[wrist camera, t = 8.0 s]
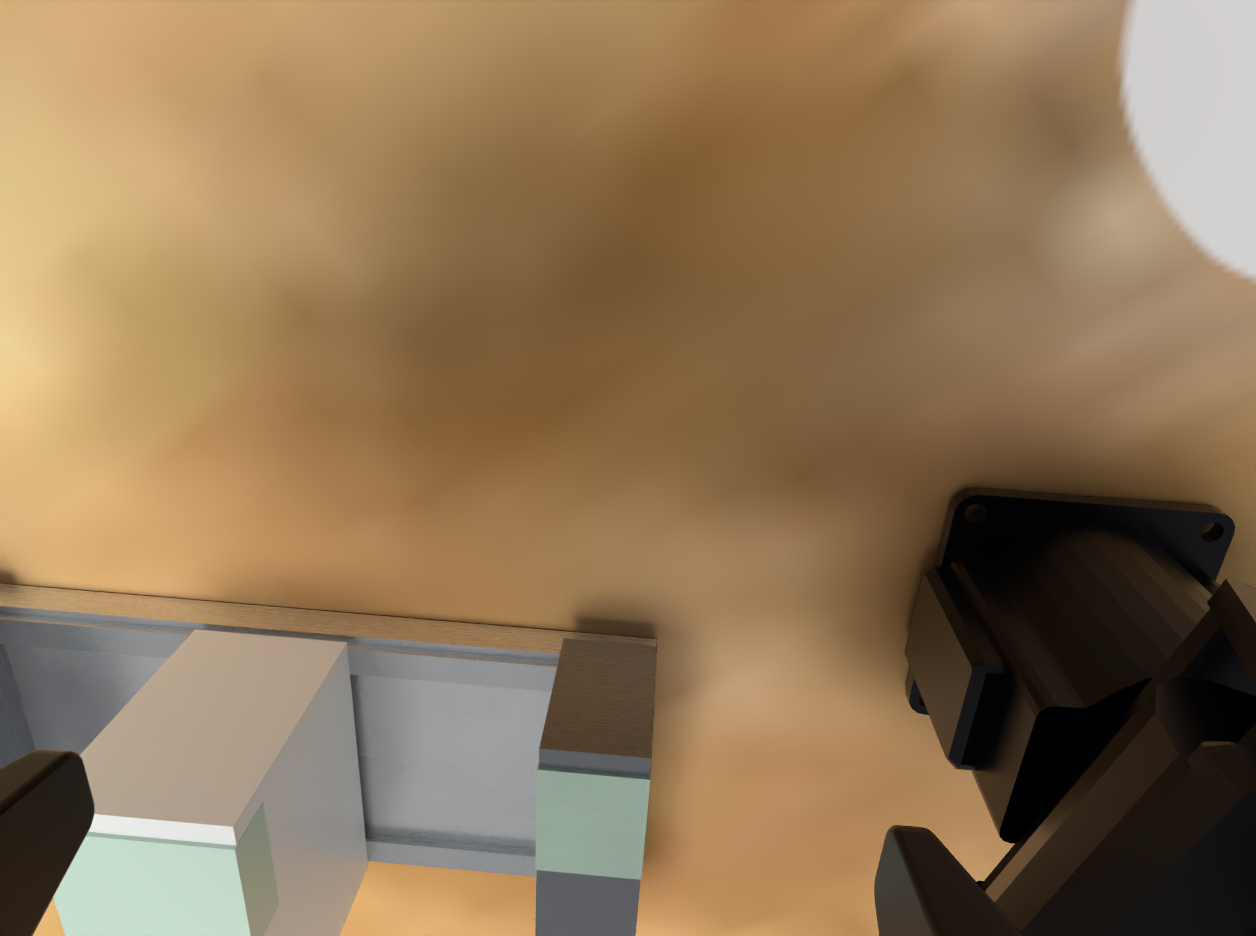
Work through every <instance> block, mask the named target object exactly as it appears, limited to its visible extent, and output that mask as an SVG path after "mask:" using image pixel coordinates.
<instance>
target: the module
mask: <svg viewBox="0 0 1256 936" xmlns="http://www.w3.org/2000/svg"><path fill="white" fill-rule="evenodd" d="M80 757H81V758H82V760H83V763H84V766H85V770H86V774H87V778H88V781H89V785H90V789H91V792H92V796H93V800H94V805H95V811H94V818H93V821H92V824H91V827H90V829H89V831H88V833H87V835H86V837H85V839H84V841H83V842H82V844H81V846H80V848H79V850H78V852H77V854H76V855H75V857H74V859H73V861H72V863H71V865H70V867H69V869H68V870H67V872H66V874H65V876H64V878H63V880H62V882H61V883H60V885H59V887H58V889H57V891H56V893H55V895H54V896H53V898H54V901H55V904H56V908H57V911H58V914H59V917H60V920H61V924H62V927H63V930H64V933H65V936H339V935H340V933H341V930H342V928H343V925H344V923H345V920H346V918H347V916H348V913H349V911H350V908H351V906H352V903H353V901H354V899H355V896H356V894H357V891H358V889H359V886H360V884H361V882H362V879H363V877H364V874H365V872H366V869H367V867H368V859H367V848H366V838H365V827H364V816H363V806H362V795H361V785H360V774H359V764H358V753H357V743H356V732H355V722H354V711H353V701H352V690H351V680H350V669H349V659H348V648H347V642H337V641H325V640H313V639H301V638H290V637H278V636H266V635H254V634H243V633H231V632H219V631H208V630H196V629H195V630H194V631H193V632H192V633H191V634H190V635H189V637H188V638H187V639H186V640H185V641H184V642H183V643H182V644H181V645H180V646H179V647H178V649H177V650H176V651H175V652H174V653H173V654H172V655H171V656H170V657H169V658H168V659H167V661H166V662H165V663H164V664H163V665H162V666H161V667H160V668H159V669H158V670H157V671H156V673H155V674H154V675H153V676H152V677H151V678H150V679H149V680H148V681H147V682H146V683H145V685H144V686H143V687H142V688H141V689H140V690H139V691H138V692H137V693H136V694H135V695H134V697H133V698H132V699H131V700H130V701H129V702H128V703H127V704H126V705H125V706H124V707H123V709H122V710H121V711H120V712H119V713H118V714H117V715H116V716H115V717H114V718H113V719H112V721H111V722H110V723H109V724H108V725H107V726H106V727H105V728H104V729H103V730H102V731H101V733H100V734H99V735H98V736H97V737H96V738H95V739H94V740H93V741H92V742H91V743H90V745H89V746H88V747H87V748H86V749H85V750H84V751H83V752H82V753H81V754H80Z"/></svg>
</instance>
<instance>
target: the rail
mask: <svg viewBox="0 0 1256 936" xmlns="http://www.w3.org/2000/svg"><path fill="white" fill-rule="evenodd" d="M195 629H196V630H208V631H219V632H231V633H243V634H254V635H266V636H278V637H290V638H301V639H313V640H325V641H337V642H347V648H348V659H349V669H350V680H351V690H352V701H353V711H354V722H355V732H356V743H357V753H358V764H359V774H360V785H361V795H362V806H363V816H364V827H365V838H366V848H367V859H368V861H375V862H386V863H397V864H407V865H418V866H429V867H439V868H450V869H460V870H471V871H482V872H492V873H503V874H514V875H524V876H535V877H537V883H536V935H535V936H635V934H636V923H637V912H638V901H639V890H640V880H641V879H642V867H643V856H644V845H645V834H646V823H647V812H648V801H649V790H650V779H651V758H652V734H653V714H654V694H655V674H656V654H657V646H656V642H657V639H649V638H637V637H626V636H614V635H602V634H590V633H578V632H566V631H555V630H543V629H531V628H519V627H507V626H496V625H484V624H472V623H460V622H448V621H436V620H425V619H413V618H401V617H389V616H377V615H366V614H354V613H342V612H330V611H318V610H306V609H295V608H283V607H271V606H259V605H247V604H235V603H224V602H212V601H200V600H188V599H176V598H165V597H153V596H141V595H129V594H117V593H105V592H94V591H82V590H70V589H58V588H46V587H34V586H23V585H11V584H0V768H1V767H3V766H5V765H7V764H9V763H11V762H13V761H15V760H17V759H19V758H20V757H22V756H24V755H26V754H28V753H30V752H32V751H35V750H38V749H56V750H68V751H74V752H77V753H78V754H79V755H80V754H81V753H82V752H83V751H84V750H85V749H86V748H87V747H88V746H89V745H90V743H91V742H92V741H93V740H94V739H95V738H96V737H97V736H98V735H99V734H100V733H101V731H102V730H103V729H104V728H105V727H106V726H107V725H108V724H109V723H110V722H111V721H112V719H113V718H114V717H115V716H116V715H117V714H118V713H119V712H120V711H121V710H122V709H123V707H124V706H125V705H126V704H127V703H128V702H129V701H130V700H131V699H132V698H133V697H134V695H135V694H136V693H137V692H138V691H139V690H140V689H141V688H142V687H143V686H144V685H145V683H146V682H147V681H148V680H149V679H150V678H151V677H152V676H153V675H154V674H155V673H156V671H157V670H158V669H159V668H160V667H161V666H162V665H163V664H164V663H165V662H166V661H167V659H168V658H169V657H170V656H171V655H172V654H173V653H174V652H175V651H176V650H177V649H178V647H179V646H180V645H181V644H182V643H183V642H184V641H185V640H186V639H187V638H188V637H189V635H190V634H191V633H192V632H193V631H194V630H195Z"/></svg>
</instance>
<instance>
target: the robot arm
mask: <svg viewBox="0 0 1256 936" xmlns="http://www.w3.org/2000/svg"><path fill="white" fill-rule="evenodd" d="M974 504H980V505H981V508H980V510H979V512H977V513H976V514H974V515H970V516H967V515H965V511H966V509H967V508H968V507H970V506H971V505H974ZM1210 523H1214V526H1213V527H1212V528H1211V530H1210V531H1208V532H1206V533H1203V534H1201V531H1202V529H1203V528H1204V527H1205V526H1206V525H1208V524H1210ZM1234 531H1235V525H1234V522H1233V520H1232V519H1231V518H1230V517H1229V516H1227V515H1226V514H1225V513H1223V512H1222V511H1221V510H1220V509H1218V508H1216V507H1212V506H1206V505H1193V504H1181V503H1168V502H1155V501H1142V500H1129V499H1116V498H1104V497H1091V496H1078V495H1065V494H1052V493H1039V492H1026V491H1014V490H1001V489H988V488H966V489H964V490H962V491H960V492H958V493H957V494H956V495H955V496H954V497H953V498H952V500H951V502H950V505H949V509H948V513H947V517H946V521H945V525H944V530H943V534H942V538H941V542H940V546H939V551H938V555H937V559H936V563H935V565H932V566H930V567H929V568H928V569H927V570H926V571H925V572H924V573H923V575H922V579H921V583H920V588H919V592H918V596H917V600H916V605H915V609H914V613H913V618H912V622H911V626H910V630H909V635H908V639H907V643H906V648H905V655H906V658H907V660H908V663H909V665H910V672H909V676H908V680H907V684H906V696H907V699H908V701H909V704H910V706H911V708H912V709H913V710H915V711H916V712H917V713H921V714H926V715H929V716H930V719H931V721H932V724H933V726H934V729H935V731H936V734H937V736H938V739H939V741H940V744H941V746H942V749H943V751H944V754H945V756H946V758H947V760H948V761H949V762H950V763H951V764H952V765H953V766H954V768H955V769H961V770H972V773H973V775H974V777H975V780H976V782H977V785H978V787H979V789H980V792H981V794H982V796H983V799H984V801H985V803H986V806H987V808H988V810H989V813H990V815H991V817H992V820H993V822H994V824H995V827H996V829H997V831H998V834H999V836H1000V837H1001V838H1002V840H1003V841H1005V842H1009V843H1014V846H1013V847H1012V848H1011V849H1010V850H1009V852H1008V853H1007V854H1006V855H1005V857H1004V858H1003V859H1002V860H1001V861H1000V863H999V864H998V865H997V866H996V867H995V869H994V870H993V871H992V872H991V873H990V875H989V876H988V877H987V878H986V879H985V881H977V882H976V881H975V880H974V879H973V878H972V877H971V875H970V874H969V873H968V872H967V871H966V870H965V869H964V868H963V866H962V865H961V864H960V863H959V862H958V861H957V860H956V858H955V857H954V856H953V855H952V854H951V853H950V852H949V850H948V849H947V848H946V847H945V846H944V845H943V844H942V842H941V841H940V840H939V839H938V838H937V837H936V836H935V835H934V834H933V833H932V832H931V831H930V830H928V829H926V828H923V827H912V826H901V825H894V826H891V827H890V828H889V830H888V831H887V833H886V837H885V841H884V845H883V849H882V853H881V857H880V861H879V865H878V869H877V873H876V877H875V886H874V895H875V906H876V914H877V922H878V930H879V936H1256V588H1253V587H1251V586H1249V585H1246V584H1244V583H1241V582H1239V581H1236V580H1234V579H1231V578H1226V579H1225V581H1224V582H1223V583H1222V584H1221V585H1219V584H1218V583H1216V582H1215V580H1216V578H1217V575H1218V573H1219V570H1220V568H1221V565H1222V563H1223V560H1224V558H1225V555H1226V553H1227V550H1228V548H1229V545H1230V543H1231V540H1232V538H1233V535H1234ZM920 695H921V696H922V697H920ZM94 811H95V805H94V800H93V796H92V792H91V789H90V785H89V781H88V778H87V774H86V770H85V766H84V763H83V760H82V758H81V757H80V755H79V754H78V753H77V752H74V751H68V750H56V749H38V750H35V751H32V752H30V753H28V754H26V755H24V756H22V757H20V758H19V759H17V760H15V761H13V762H11V763H9V764H7V765H5V766H3V767H1V768H0V936H33V934H34V932H35V930H36V928H37V926H38V924H39V923H40V921H41V919H42V917H43V915H44V913H45V911H46V909H47V908H48V906H49V904H50V902H51V900H52V898H53V896H54V895H55V893H56V891H57V889H58V887H59V885H60V883H61V882H62V880H63V878H64V876H65V874H66V872H67V870H68V869H69V867H70V865H71V863H72V861H73V859H74V857H75V855H76V854H77V852H78V850H79V848H80V846H81V844H82V842H83V841H84V839H85V837H86V835H87V833H88V831H89V829H90V827H91V824H92V821H93V818H94Z"/></svg>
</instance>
